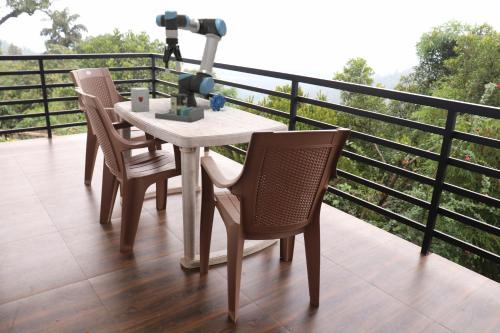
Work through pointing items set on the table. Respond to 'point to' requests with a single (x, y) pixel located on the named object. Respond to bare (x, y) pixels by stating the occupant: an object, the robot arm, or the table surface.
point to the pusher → (186, 111)
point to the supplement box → (140, 99)
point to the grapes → (217, 102)
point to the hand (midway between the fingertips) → (173, 72)
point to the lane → (191, 117)
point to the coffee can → (178, 103)
